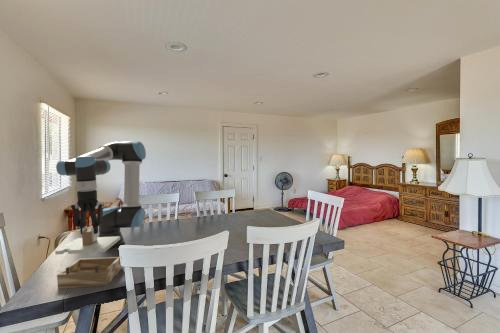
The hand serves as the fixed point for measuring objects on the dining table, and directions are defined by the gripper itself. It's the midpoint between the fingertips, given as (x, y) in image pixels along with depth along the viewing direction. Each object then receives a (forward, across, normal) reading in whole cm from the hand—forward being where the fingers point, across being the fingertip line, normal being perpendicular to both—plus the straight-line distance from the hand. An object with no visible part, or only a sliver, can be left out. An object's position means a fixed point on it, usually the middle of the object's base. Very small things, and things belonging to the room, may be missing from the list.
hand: (90, 240), depth 116 cm
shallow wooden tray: (+17, 0, 0) cm, 17 cm away
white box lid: (+3, 0, 0) cm, 3 cm away
